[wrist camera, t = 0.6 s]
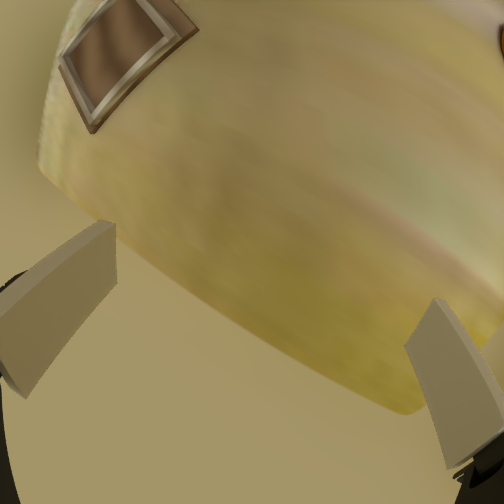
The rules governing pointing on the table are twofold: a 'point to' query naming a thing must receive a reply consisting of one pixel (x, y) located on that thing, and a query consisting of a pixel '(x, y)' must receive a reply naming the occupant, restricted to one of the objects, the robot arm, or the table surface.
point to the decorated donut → (503, 41)
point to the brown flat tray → (119, 52)
